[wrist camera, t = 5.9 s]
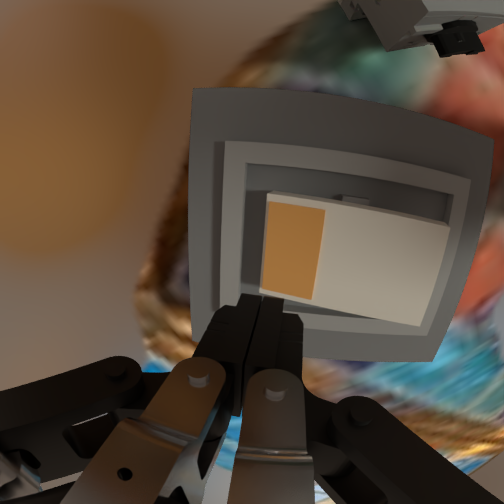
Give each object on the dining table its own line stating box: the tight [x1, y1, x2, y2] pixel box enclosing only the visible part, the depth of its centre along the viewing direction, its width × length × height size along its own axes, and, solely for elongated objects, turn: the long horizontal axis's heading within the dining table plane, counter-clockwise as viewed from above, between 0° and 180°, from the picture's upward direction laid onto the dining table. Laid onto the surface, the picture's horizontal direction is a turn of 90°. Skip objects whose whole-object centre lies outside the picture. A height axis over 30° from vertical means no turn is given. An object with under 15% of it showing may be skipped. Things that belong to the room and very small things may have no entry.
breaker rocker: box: [259, 191, 450, 327], centre depth 15 cm, size 10×6×1 cm, turn 87°
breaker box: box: [188, 87, 494, 362], centre depth 19 cm, size 20×18×7 cm
